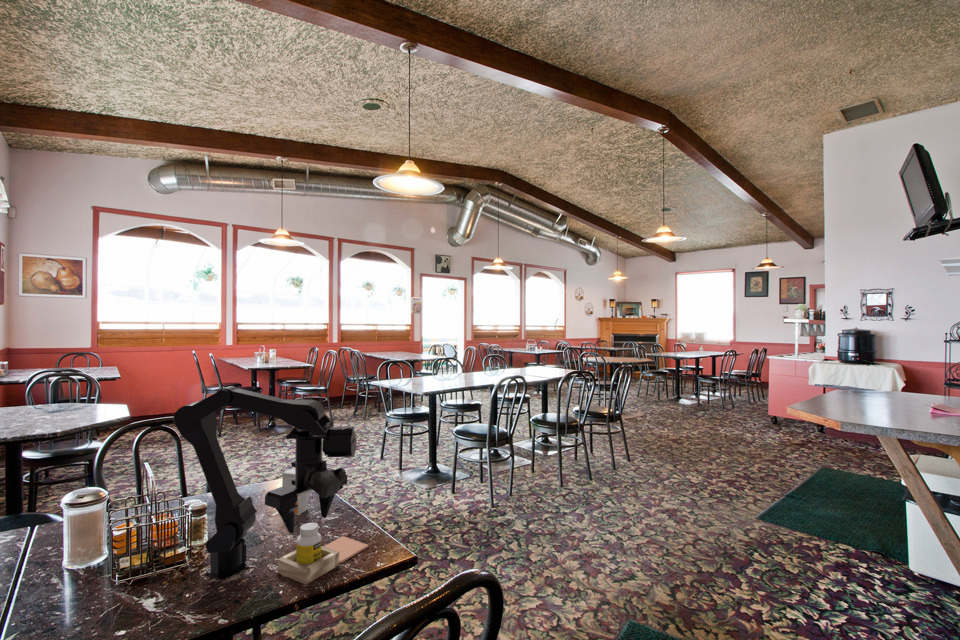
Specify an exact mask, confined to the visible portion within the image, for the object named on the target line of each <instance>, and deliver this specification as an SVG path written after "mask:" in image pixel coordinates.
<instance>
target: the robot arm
mask: <svg viewBox="0 0 960 640" xmlns="http://www.w3.org/2000/svg"><path fill="white" fill-rule="evenodd" d="M228 407H230V408H234V409H237V410H238V409H239V410H243V411H247V412H251V413H254V414H255V413H256V414H259V415H264V416H268V417H273V418H277V419H279V420H281V421H283V422H284V423H286V424H287V425H288V426H291V427H293V428H292V429H291V431H290V432H289V433H288V434H287V435H285V439H286V440H295V455H294V456H295V457H294V458H295V460H294V461H291V467H292V468H294V469H295V479H293V480H292V484H291V485H295V487H296V488H293V489H288V488H284V487H282V486H279V487H277V488H274V489H272V490H268V491H267V492H266V494H265V496H264V506H268V507H271V508H273V509H276V511H277V513H278V514H279V516H280V518H281V519H282V521H283V524H284V526H285V528H286V530H287V531H288V533H289V534H294V533H295V531H294V530H295V510H296V508H297V507H298V505H296V502H297V501H298V496H300V495H302V494H305V493H307V492H308V493H309V492H312V491H314V492H315V493H316V494H317V495H318V499H319V509H320V513H321V518H322V519H327V517H328V515H329V512H330V508H331V506H332V504H333V503H332V502H333V500H334V497H335V495H336V494H338V493H339V491H341V490H343V488H344V486H345V485H348V475H347V473H346V469H344V468H343V467H339V468H336V469H333V468H330V469H328V468H327V467H328V466H327V465H328V464H327V460H324V459H323V454H324V456H327V458H354V457H355V454H356V451H357V440H358V439H357V437H356V433H355V427H354V426H353V425H352V426H351V425H350V426H345V427H344V426H340V427H339V426H338V427H337V426H335V424H334V423H333V422H332V421H331V419H330V418H329V417H328V416H327V414H326V413H325V412H326V410H325V407H324V406H323V403H322V402H320V401H319V400H315V399H302V398H300V399H287V398H286V399H285V398H281V397H277V396H273V395H268V394H265V393H260V392H256V391H251V390H247V389H243V388H239V387H237V386H234V385H230V386H229V385H228V386H226V387H223V388H221V389H219V390H217V391H216V392H215V393H213V394H211V395H210V396H209V395H208V396H207V397H205V398H203V399H201V400H198V401H195V402H192V403H189V404H185V405H183V406H180V407H179V408H178V409H177V410H176V411H175V413H174V415H173V419H172V420H173V424H174V426H175V429H177V430H178V432H179V434H180V436H181V437H182V438H183V439H184V440H185V441H186V442H188V443H189V444H190V445H192V447H193V449H194V452H195V454H196V457H197V460H198V463H199V465H200V467H201V470H202V472H203V475H204V478H205V480H206V483H207V486H208V489H209V491H210V493H211V494H210V495H212V499H213V501H214V504H215V511H214V524H215V525H214V526H215V530H216V532H215V533H214V535H212V536H211V538H209V539H208V540H207V541H206V542H205V544H204V546H205V549H206V551H207V553H208V554H209V553H210V554H209V555H210V556H209V557H210V560H209V563H210V565H209V567H210V568H208V569H207V570H206V572H205V573H206V574H208V575H209V576H212V577H214V578H216V579H218V580H220V581H225V580H226V579H230V578H231V577H233V576H236V575H237V574H240V573H241V572H243V571H245V570H248V569H249V568H250V565H249V564H248V563H246V562H247V544H246V543H245V542H246V540H245V538H244V537H245V536H246V535H247V533H248V532H249V530H250V529H251V528H252V527H253V526H254V524H255V521H257V520H256V513H257V512H258V510H257V509H256V508H255V506H254V503H253V499H252V496H248V497H246V498H244V497H243V496H242V495H241V494H240V493H239V492H238V490H237V487H236V484H235V481H234V479H233V477H232V474H231V471H230V469H229V468H230V467H229V466H228V463H227V460H226V458H225V456H224V453H223V450H222V448H221V445H220V442H219V440H218V438H217V431H218V419H217V418H218V417H217V414H218V413H220V412H222V411H223V410H225V409H227V408H228Z"/></svg>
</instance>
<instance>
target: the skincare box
mask: <svg viewBox="0 0 960 640" xmlns="http://www.w3.org/2000/svg"><path fill="white" fill-rule="evenodd" d="M293 479H295V468H289V469H287V470H285V471H283V472H282V482H281V483H282V484H281V485H282V486H281V487H284V488H288V489H293V488H296V487H295V485H291V484H292V480H293ZM308 500H309V492H307V493H305V494H302V495H300V496H298V501H297V502H296V505H298V507H297V508H296V510H295V514H294V516H295V515H296V516H301V515H302V514H303V512H304V511H305V512H307V511H308V510H309V505H308V504H309V501H308ZM307 509H308V510H307ZM306 510H307V511H306ZM305 512H304V513H305ZM301 513H302V514H301Z"/></svg>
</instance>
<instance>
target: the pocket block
mask: <svg viewBox="0 0 960 640" xmlns="http://www.w3.org/2000/svg"><path fill="white" fill-rule="evenodd" d="M324 546H325V545H324ZM324 546H323V545H321V559H320V560H318V561H316V562H314V563H313V564H311V565H309V566H307V567H306V566H303V565H301V564H298V563H296V549H294V550H293V551H290V552H289V553H287V554H285V555H283V556H281V557H279V558H278V559H277V573H278V574H280V575H282V576H285V577H287V578H290V579H291V580H293V581H296V582H298V583H301V584H303V585H308V584H310V583H311V582H313V581H315V580H316V579H318V578H319V577H321V576H323V575H325V574H327V573H328V572H330V571H331V570H333V569H334V568H337V567H338V566H340V563H339V552H337V551H335V550H332V549H329V548H327V547H324Z"/></svg>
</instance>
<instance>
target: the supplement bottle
mask: <svg viewBox="0 0 960 640" xmlns="http://www.w3.org/2000/svg"><path fill="white" fill-rule="evenodd" d="M295 545H296V546H295V547H296V549H295V550H296V563H298V564H301V565H303V566H306V567H307V566H309V565H311V564H313V563H314V562H316V561H318V560H320V559H321V546H322V535H321V534H320V533H319V524H318V523H316V522H307V523H303V524H301V525H300V527H299V535H298V536H297V538H296V544H295Z"/></svg>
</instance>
